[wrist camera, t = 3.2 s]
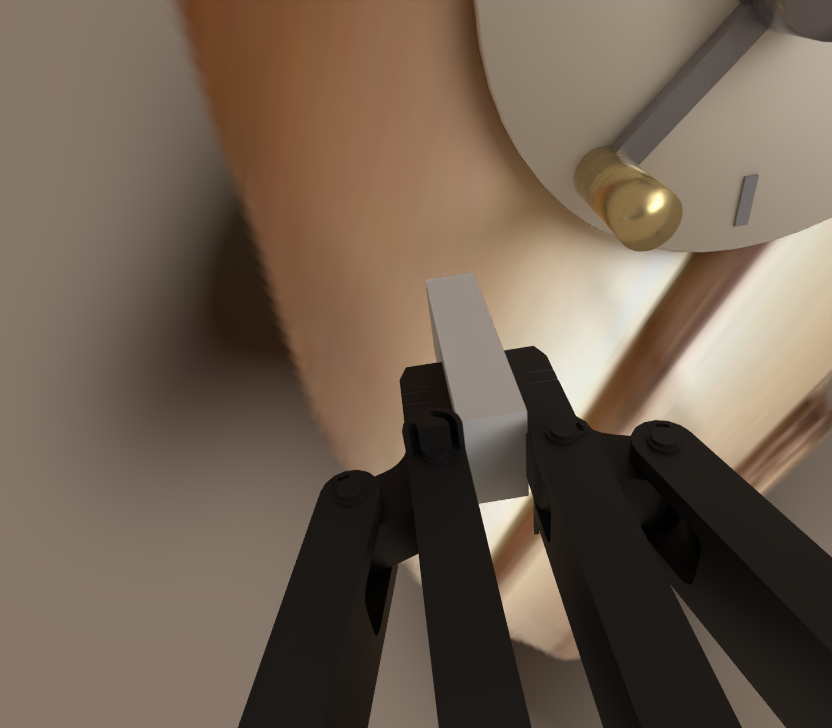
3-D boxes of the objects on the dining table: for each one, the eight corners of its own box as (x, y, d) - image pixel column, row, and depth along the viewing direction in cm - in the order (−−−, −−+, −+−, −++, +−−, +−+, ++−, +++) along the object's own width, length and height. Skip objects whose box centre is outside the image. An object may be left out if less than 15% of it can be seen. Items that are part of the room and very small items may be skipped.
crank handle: (835, -179, 19) (973, -214, 15) (901, -63, 21) (1038, -64, 17) (542, 163, 25) (580, 208, 20) (616, 227, 27) (665, 279, 23)
